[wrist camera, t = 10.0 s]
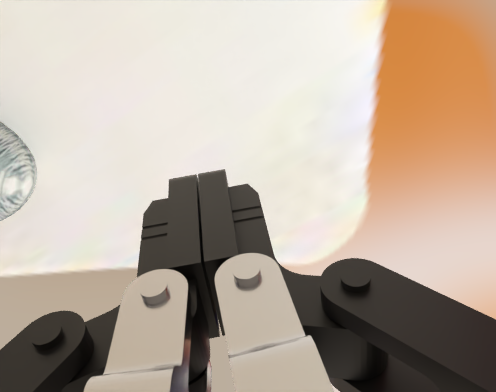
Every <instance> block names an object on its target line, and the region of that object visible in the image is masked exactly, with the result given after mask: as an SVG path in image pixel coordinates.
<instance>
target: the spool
mask: <svg viewBox="0 0 496 392" xmlns="http://www.w3.org/2000/svg"><path fill="white" fill-rule="evenodd" d="M36 180H37V169H36V164H35V160H34V157H33V155H32V153H31V152H30V150H29V149H28V147H27V146H26V145H25V143H24V142H23V141H22V140H21V139H20V138H19V137H18V136H17V135H16V134H15V132H13V131H12V130H11V129H9V128H8V127H6V126H5V125H4V124H2V123H1V122H0V221H1V220H3V219H5V218H7V217H9V216H11V215H12V214H14V213H15V212H17V211H18V210H19V209H20V208H21V207H22V206H23V205H24V204H25V203H26V201H27V200H28V199H29V198H30V196H31V194H32V193H33V190H34V188H35V185H36Z"/></svg>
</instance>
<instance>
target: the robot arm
mask: <svg viewBox="0 0 496 392" xmlns="http://www.w3.org/2000/svg"><path fill="white" fill-rule="evenodd" d="M198 179H199V181H198ZM142 227H143V230H142V235H141V239H142V240H141V245H140V254H139V263H138V273H137V278H136V279H135V280H133V281H132V282H131V283H130V284H129V285H128V287H127V288H126V290H125V291H124V294H123V296H122V300H121V304H120V305H119V306H118V307H116V308H114V309H113V310H111V311H109V312H107V313H105V314H102V315H100V316H98V317H96V318H93V319H91V320H89V321H87V322H84V320H83V319H82V317H81V316H80V315H78V314H77V313H74V312H71V311H58V312H53V313H49V314H47V315H44V316H42V317H40V318H38V319H37V320H35V321H34V322H32V323H31V324H30V325H28V326H27V327H26V328H25V329H24V330H23V331H21V332H20V333H19V334H18V335H17V336H16V337H15V338H13V339H12V340H11V341H10V342H9V343H8V344H6V345H5V346H4V347H3V348H2V349H1V350H0V392H211V377H212V369H211V363H210V360H209V359H210V344H209V338H214V337H219V335H220V334H219V323H220V327H221V331H222V335H223V336H224V335H225V336H226V341H227V346H228V351H229V361H230V366H231V371H232V376H233V382H234V386H235V391H236V392H334V391H333V388H332V385H333V386H334V387H335V388H336V389H338V390H339V391H340V392H496V320H495V319H493V318H491V317H489V316H487V315H485V314H483V313H481V312H478V311H476V310H474V309H472V308H470V307H468V306H466V305H464V304H462V303H459V302H457V301H455V300H453V299H451V298H449V297H447V296H445V295H442V294H440V293H438V292H436V291H434V290H432V289H430V288H428V287H425V286H423V285H421V284H419V283H417V282H415V281H412V280H411V279H408V278H406V277H404V276H402V275H400V274H398V273H396V272H394V271H391V270H389V269H387V268H385V267H383V266H381V265H379V264H376V263H374V262H372V261H368V260H365V259H358V258H357V259H356V258H351V259H344V260H340V261H337V262H335V263H333V264H331V265H330V266H328V267H327V268H326V269H325V270H324V272H323V274H322V275H321V276H311V275H301V274H297V273H294V272H291V271H289V270H287V269H285V268H284V267H282V266H281V265H280V264H279V263H278V262H277V260H276V259H275V256H274V253H273V250H272V246H271V242H270V238H269V234H268V230H267V226H266V222H265V218H264V214H263V211H262V207H261V203H260V199H259V195H258V193H257V192H256V191H255V190H254V189H253V188H252V187H251V186H249V185H248V184H244V185H238V186H233V187H228V183H227V177H226V172H225V169H223V170H218V171H212V172H206V173H201V174H198V178H197V175H190V176H185V177H179V178H173V179H169V196H168V198H167V199H161V200H155V201H152V203H151V204H150V206H149V207H148V209H147V210H146V211H145V213H144V216H143V226H142ZM218 319H219V323H218ZM330 382H331V383H330ZM331 384H332V385H331Z"/></svg>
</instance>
